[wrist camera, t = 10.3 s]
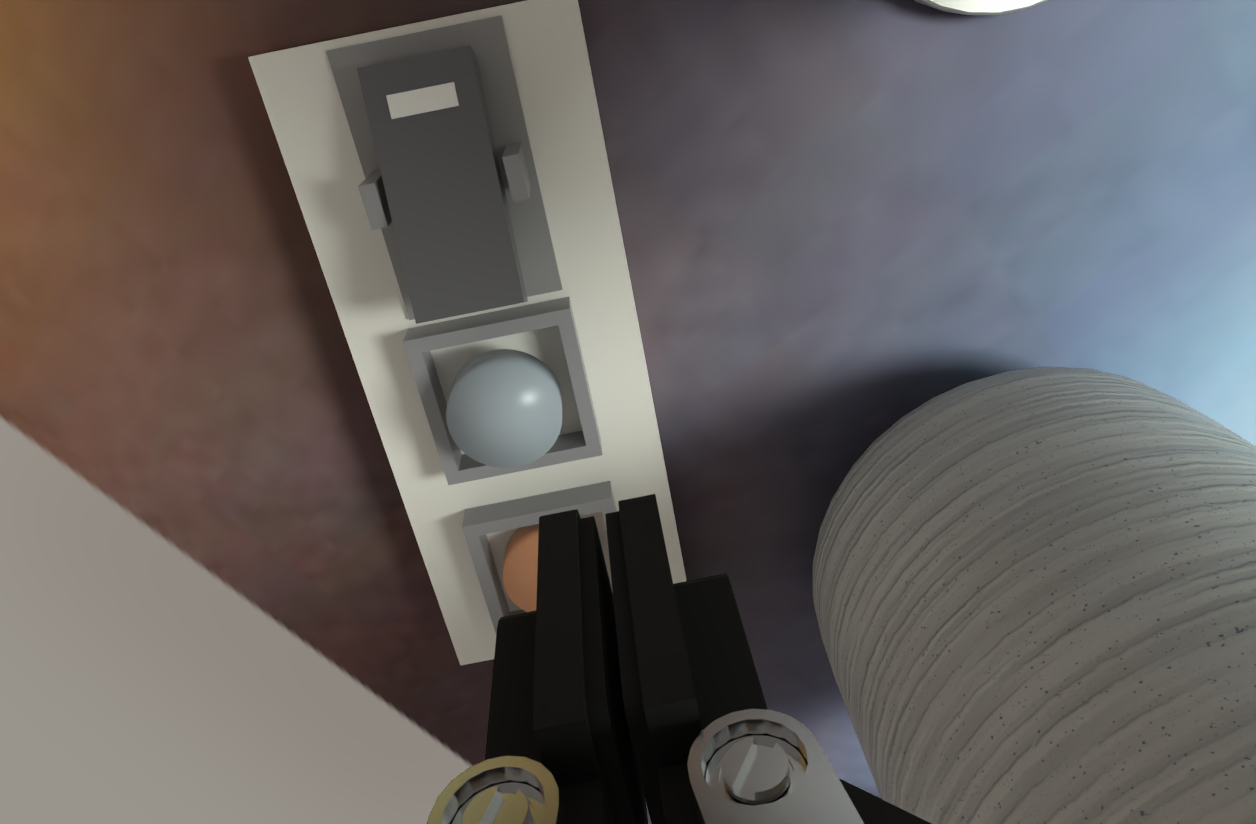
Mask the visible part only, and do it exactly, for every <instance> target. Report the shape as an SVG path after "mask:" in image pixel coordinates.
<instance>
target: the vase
mask: <svg viewBox="0 0 1256 824" xmlns="http://www.w3.org/2000/svg"><path fill="white" fill-rule="evenodd" d="M813 602H814V607H815V612H816V616H817V620H818V625H819V629H820V633H821V638H822V641H823V644H824V647H825V650H826V653H827V656H828V659H829V662H830V665H831V668H832V671H833V674H834V677H835V680H836V683H837V685H838V688H839V691H840V693H841V696H842V698H843V701H844V703H845V706H846V709H847V711H848V714H849V716H850V719H851V721H852V724H853V727H854V729H855V732H856V734H857V737H858V739H859V742H860V745H861V747H862V750H863V752H864V755H865V758H866V760H867V763H868V765H869V768H870V770H871V773H872V776H873V778H874V780H875V783H876V785H877V788H878V790H879V793H880V795H881V798H882V800H884V801H886V802H888V803H890V804H892V805H895V806H897V807H899V808H901V809H903V810H905V811H907V812H909V813H911V814H913V815H915V816H917V817H919V818H921V819H923V820H925V821H927V822H929V823H931V824H1256V446H1254V445H1253V444H1251V443H1250V442H1248V441H1247V440H1245V439H1243V438H1242V437H1240V436H1239V435H1237V434H1236V433H1234V432H1232V431H1231V430H1229V429H1228V428H1226V427H1224V426H1223V425H1221V424H1220V423H1218V422H1216V421H1214V420H1213V419H1211V418H1209V417H1207V416H1206V415H1204V414H1202V413H1200V412H1199V411H1197V410H1195V409H1193V408H1191V407H1190V406H1188V405H1186V404H1184V403H1183V402H1181V401H1179V400H1177V399H1176V398H1173V397H1171V396H1169V395H1167V394H1165V393H1163V392H1160V391H1158V390H1156V389H1154V388H1152V387H1149V386H1147V385H1145V384H1143V383H1140V382H1138V381H1136V380H1133V379H1130V378H1127V377H1124V376H1119V375H1115V374H1111V373H1106V372H1102V371H1097V370H1093V369H1085V368H1063V367H1039V368H1030V369H1022V370H1014V371H1007V372H1003V373H1000V374H996V375H993V376H989V377H985V378H982V379H978V380H975V381H971V382H968V383H965V384H963V385H960V386H958V387H956V388H954V389H951V390H949V391H947V392H945V393H942V394H940V395H938V396H936V397H933V398H932V399H930V400H929V401H927V402H925V403H924V404H922V405H921V406H919V407H917V408H916V409H914V410H913V411H911V412H909V413H908V414H906V415H905V416H903V417H902V418H900V419H899V420H898V421H897V422H896V423H895V424H893V425H892V426H891V427H890V428H889V429H887V430H886V431H885V432H884V433H883V434H882V435H880V436H879V437H878V438H877V439H876V440H875V441H874V442H873V443H872V444H871V445H870V446H869V447H868V449H867V450H866V451H865V452H864V453H863V454H862V456H861V457H860V458H859V459H858V460H857V461H856V462H855V464H854V465H853V466H852V467H851V469H850V470H849V472H848V474H847V475H846V477H845V478H844V480H843V482H842V483H841V485H840V486H839V488H838V490H837V491H836V493H835V495H834V496H833V498H832V500H831V502H830V505H829V507H828V510H827V512H826V514H825V517H824V519H823V522H822V524H821V527H820V530H819V535H818V540H817V545H816V550H815V555H814V560H813Z"/></svg>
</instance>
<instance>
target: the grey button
mask: <svg viewBox="0 0 1256 824" xmlns="http://www.w3.org/2000/svg"><path fill="white" fill-rule="evenodd" d="M446 420H447V426H448V430H449V432H450V435H451V437H452V438H453V440H454V442H455V443H456V444H457V446H458V447H459V448H460V449H461V450H462V451H463V452H464V453H465V454H466V455H468V456H469V457H471V458H472V459H474V460H475V461H478V462H480V463H482V464H485V465H488V466H492V467H499V468H513V467H519V466H523V465H526V464H529V463H531V462H533V461H535V460H537V459H539V458H540V457H542V456H543V455H544V454H545V453H547V452H548V451H549V450H550V448H551V447H552V446H553V445H554V443H555V442H556V440H557V438H558V436H559V434H560V430H561V427H562V394H561V389H560V385H559V383H558V381H557V379H556V377H555V375H554V374H553V372H552V371H551V370H550V369H549V367H548V366H547V365H545V364H544V363H543V362H542V361H541V360H539V359H538V358H536V357H534V356H532V355H530V354H528V353H525V352H522V351H518V350H511V349H498V350H492V351H488V352H485V353H482V354H480V355H478V356H476V357H474V358H473V359H471V360H470V361H469V362H467V363H466V364H465V365H464V366H463V367H462V368H461V370H460V371H459V372H458V374H457V376H456V377H455V379H454V382H453V385H452V388H451V392H450V396H449V400H448V404H447V409H446Z"/></svg>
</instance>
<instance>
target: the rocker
mask: <svg viewBox="0 0 1256 824" xmlns="http://www.w3.org/2000/svg"><path fill="white" fill-rule="evenodd" d="M357 72H358V76H359V80H360V85H361V89H362V93H363V98H364V102H365V106H366V111H367V115H368V119H369V123H370V128H371V132H372V136H373V141H374V145H375V149H376V154H377V158H378V162H379V167H380V171H381V175H382V180H383V184H384V188H385V192H386V197H387V201H388V205H389V210H390V214H391V218H392V223H393V227H394V231H395V236H396V240H397V244H398V248H399V253H400V257H401V261H402V266H403V270H404V274H405V279H406V283H407V287H408V292H409V296H410V300H411V305H412V309H413V313H414V317H415V322H416V324H418V323H423V322H428V321H433V320H438V319H443V318H448V317H453V316H458V315H463V314H468V313H473V312H478V311H483V310H488V309H493V308H498V307H503V306H508V305H513V304H519V303H524V302H528V299H527V294H526V290H525V285H524V280H523V275H522V271H521V266H520V261H519V256H518V252H517V247H516V242H515V238H514V233H513V228H512V223H511V219H510V214H509V209H508V205H507V200H506V195H505V190H504V186H503V181H502V176H501V172H500V167H499V162H498V157H497V153H496V148H495V143H494V139H493V134H492V129H491V124H490V120H489V115H488V110H487V106H486V101H485V96H484V91H483V87H482V82H481V77H480V72H479V68H478V63H477V58H476V55H475V53H474V52H473V50H472V48H471V47H470V45H468V46H463V47H458V48H453V49H448V50H443V51H439V52H434V53H429V54H424V55H419V56H414V57H409V58H404V59H399V60H394V61H389V62H384V63H379V64H374V65H369V66H364V67H359V68H357Z"/></svg>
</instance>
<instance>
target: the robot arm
mask: <svg viewBox="0 0 1256 824" xmlns="http://www.w3.org/2000/svg"><path fill="white" fill-rule="evenodd" d="M915 1H916V2H918V3H921V4H924V5H926V6H929V7H932V8H935V9H938V10H940V11H943V12H949V13H957V14H964V15H1000V14H1005V13H1010V12H1015V11H1020V10H1025V9H1029V8H1031V7H1034V6H1036V5H1038V4H1041V3H1043V2H1046V1H1048V0H915ZM618 504H619V511H617V512H612V513H607V514H605V517H606V528H607V538H608V548H609V559H610V569H611V580H612V589H611V584H610V580H609V576H608V572H607V567H606V563H605V559H604V555H603V550H602V546H601V542H600V538H599V533H598V529H597V525H596V521H595V518H594V516H592V517H586V518H580V514H579V512H578V510H577V509H575V510H570V511H564V512H559V513H554V514H549V515H544V516H540V517H539V535H538V569H537V602H536V611H531V612H526V613H521V614H515V615H510V616H505V617H501V618H500V619H499V621H498V626H497V634H496V645H495V656H494V667H493V678H492V689H491V700H490V711H489V722H488V733H487V744H486V755H485V761H483V762H481V763H478V764H476V765H474V766H472V767H470V768H468V769H467V770H465V771H464V772H462V773H461V774H460V775H458V776H457V777H456V778H455V779H453V780H452V781H451V782H450V783H449V784H448V785H447V787H446V788H445V789H444V790H443V791H442V792H441V794H440V795H439V796H438V798H437V800H436V802H435V804H434V806H433V808H432V810H431V812H430V815H429V818H428V822H427V824H648V818H647V809H646V803H647V807H648V811H649V815H650V819H651V823H652V824H931V823H929V822H927V821H925V820H923V819H921V818H919V817H917V816H915V815H913V814H911V813H909V812H907V811H905V810H903V809H901V808H899V807H897V806H895V805H892V804H890V803H888V802H886V801H884V800H882V799H880V798H878V797H876V796H874V795H872V794H870V793H868V792H866V791H864V790H862V789H860V788H858V787H856V786H853V785H851V784H849V783H847V782H845V781H843V780H841V779H839V778H838V776H837V774H836V773H835V771H834V769H833V767H832V766H831V764H830V762H829V760H828V758H827V757H826V755H825V753H824V751H823V750H822V748H821V746H820V744H819V742H818V741H817V739H816V738H815V737H814V735H813V734H812V733H811V732H810V730H809V729H808V728H807V727H806V726H805V725H804V724H802V723H801V722H799V721H798V720H796V719H794V718H793V717H791V716H790V715H787V714H783V713H780V712H777V711H774V710H767V706H766V703H765V699H764V696H763V693H762V689H761V686H760V682H759V679H758V676H757V672H756V669H755V665H754V662H753V659H752V655H751V652H750V649H749V645H748V642H747V638H746V635H745V632H744V628H743V625H742V621H741V618H740V615H739V611H738V608H737V604H736V601H735V598H734V594H733V591H732V588H731V584H730V581H729V578H728V575H727V574H721V575H716V576H711V577H706V578H700V579H695V580H690V581H685V582H680V583H675V584H673V581H672V576H671V571H670V566H669V561H668V555H667V550H666V545H665V540H664V535H663V530H662V525H661V520H660V515H659V510H658V505H657V500H656V495H655V494H651V495H646V496H641V497H636V498H631V499H626V500H621V501H618ZM612 590H613V593H612ZM645 798H646V800H645Z"/></svg>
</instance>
